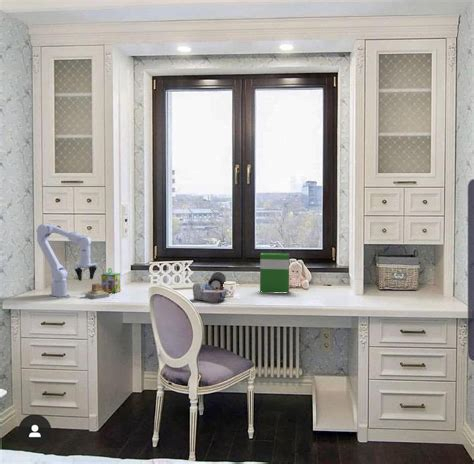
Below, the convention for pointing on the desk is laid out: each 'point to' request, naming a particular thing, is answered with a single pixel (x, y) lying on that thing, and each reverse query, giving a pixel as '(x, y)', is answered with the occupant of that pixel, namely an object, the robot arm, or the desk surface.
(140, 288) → the desk surface
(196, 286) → the cell model
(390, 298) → the desk surface
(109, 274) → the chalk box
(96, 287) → the tan cardboard carton
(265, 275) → the hardback book
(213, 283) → the portable speaker
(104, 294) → the dock
